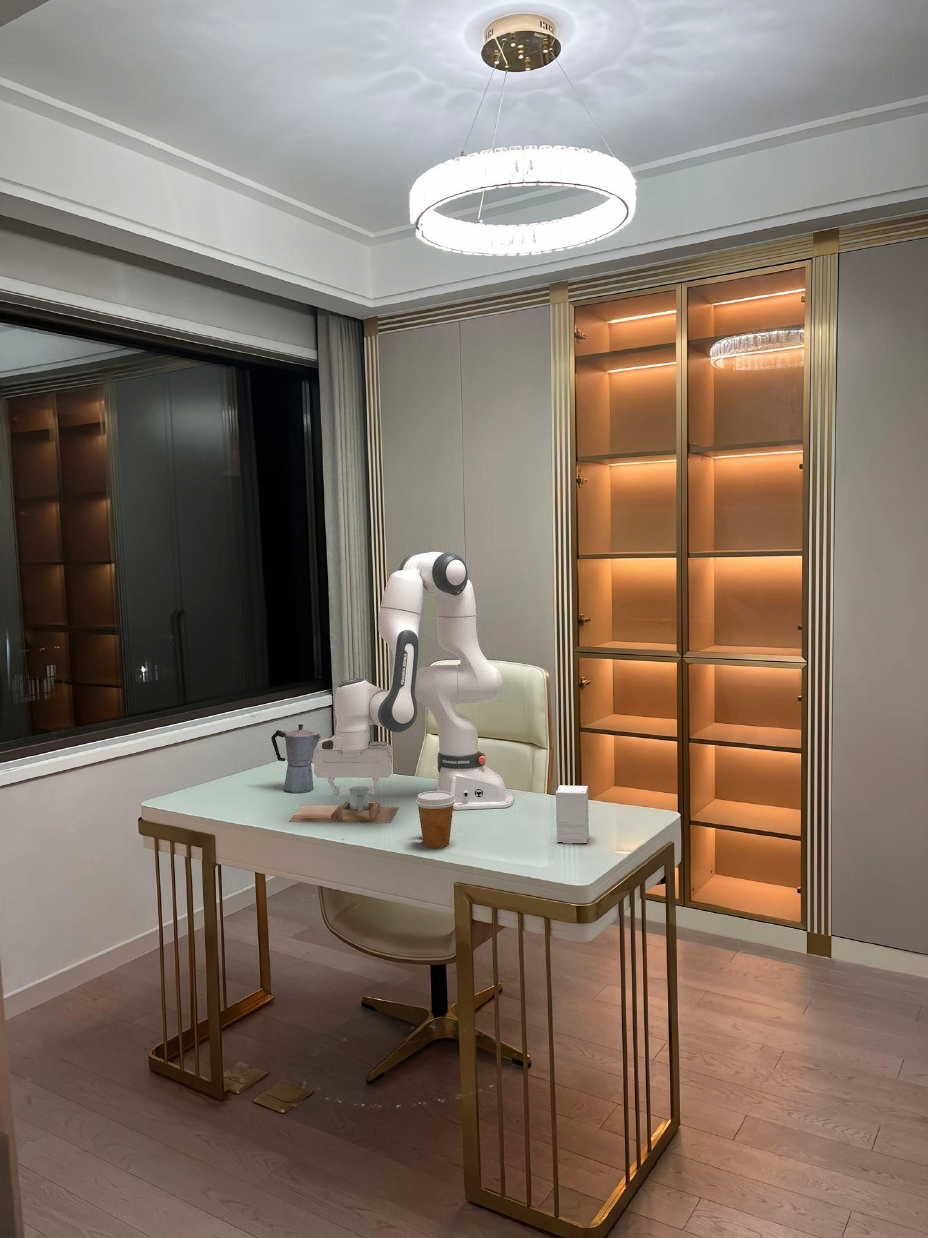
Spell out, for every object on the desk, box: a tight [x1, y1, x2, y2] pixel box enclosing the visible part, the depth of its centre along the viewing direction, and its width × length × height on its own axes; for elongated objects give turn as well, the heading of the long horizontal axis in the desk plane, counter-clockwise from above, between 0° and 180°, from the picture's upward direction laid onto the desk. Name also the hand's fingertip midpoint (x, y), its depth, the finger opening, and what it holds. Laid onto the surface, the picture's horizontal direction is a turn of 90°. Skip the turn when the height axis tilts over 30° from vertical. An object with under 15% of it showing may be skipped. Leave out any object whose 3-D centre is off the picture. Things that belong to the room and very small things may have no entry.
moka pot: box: [271, 723, 323, 794], centre depth 282 cm, size 10×15×20 cm, turn 89°
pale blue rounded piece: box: [348, 785, 370, 811], centre depth 247 cm, size 8×5×8 cm, turn 10°
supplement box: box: [555, 784, 590, 844], centre depth 229 cm, size 7×7×13 cm
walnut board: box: [288, 801, 400, 824], centre depth 251 cm, size 27×15×4 cm, turn 85°
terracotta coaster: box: [293, 804, 340, 818], centre depth 253 cm, size 10×10×1 cm
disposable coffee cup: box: [415, 790, 455, 849], centre depth 227 cm, size 10×10×12 cm
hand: (353, 794), depth 245 cm, fingers open, 8 cm apart
